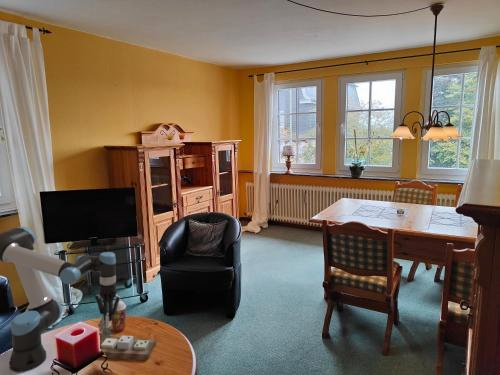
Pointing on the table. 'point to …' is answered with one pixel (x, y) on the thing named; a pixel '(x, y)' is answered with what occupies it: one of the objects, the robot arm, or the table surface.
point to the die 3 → (141, 345)
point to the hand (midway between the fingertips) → (108, 326)
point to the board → (129, 353)
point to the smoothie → (119, 317)
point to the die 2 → (125, 342)
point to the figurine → (104, 328)
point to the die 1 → (109, 343)
